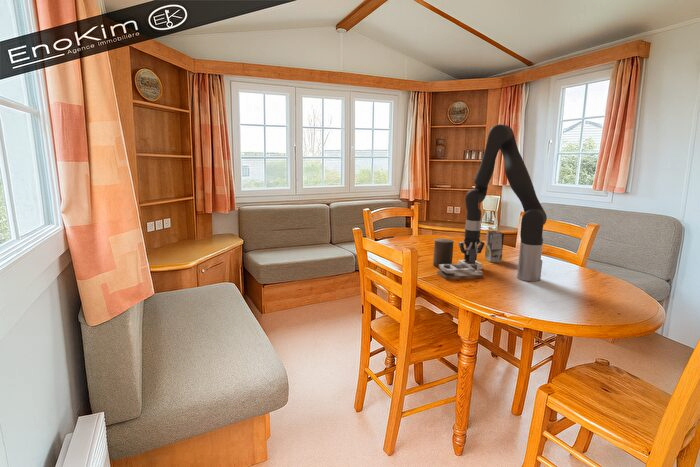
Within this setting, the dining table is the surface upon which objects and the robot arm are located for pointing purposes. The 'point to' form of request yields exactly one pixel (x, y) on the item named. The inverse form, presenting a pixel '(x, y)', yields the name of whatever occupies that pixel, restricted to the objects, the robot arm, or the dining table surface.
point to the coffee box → (494, 246)
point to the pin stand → (479, 265)
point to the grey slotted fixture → (459, 271)
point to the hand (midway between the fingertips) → (470, 260)
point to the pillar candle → (443, 252)
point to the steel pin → (471, 256)
